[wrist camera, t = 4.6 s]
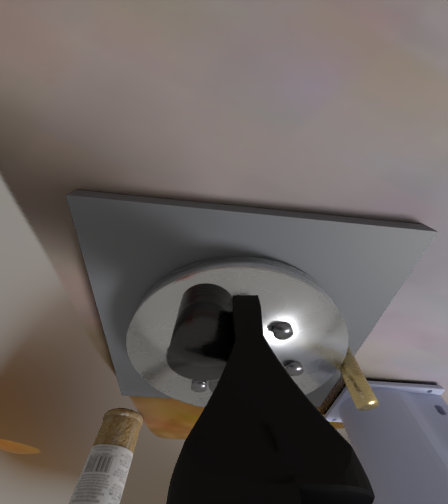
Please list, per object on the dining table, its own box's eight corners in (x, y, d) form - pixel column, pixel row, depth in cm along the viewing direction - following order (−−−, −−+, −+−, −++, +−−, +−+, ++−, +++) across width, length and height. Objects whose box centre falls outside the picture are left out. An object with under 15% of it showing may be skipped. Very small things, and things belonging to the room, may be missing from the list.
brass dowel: (351, 344, 17) (383, 400, 14) (344, 355, 18) (373, 411, 14) (334, 343, 17) (361, 399, 13) (328, 353, 18) (352, 410, 14)
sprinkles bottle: (106, 421, 27) (14, 650, 15) (104, 403, 24) (-6, 657, 13) (144, 425, 27) (83, 650, 16) (145, 408, 25) (75, 657, 13)
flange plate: (368, 364, 18) (413, 441, 13) (219, 411, 22) (217, 480, 18) (280, 207, 11) (315, 262, 7) (90, 320, 15) (37, 396, 11)
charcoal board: (423, 224, 13) (438, 231, 12) (316, 396, 23) (319, 407, 22) (77, 189, 12) (65, 194, 11) (125, 384, 22) (121, 395, 21)
